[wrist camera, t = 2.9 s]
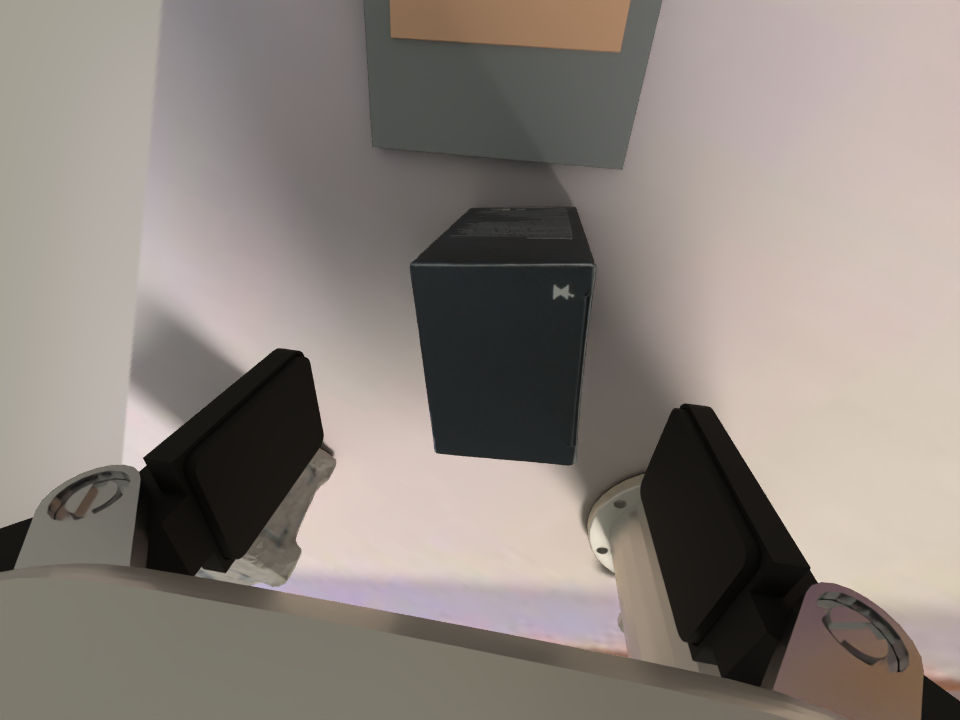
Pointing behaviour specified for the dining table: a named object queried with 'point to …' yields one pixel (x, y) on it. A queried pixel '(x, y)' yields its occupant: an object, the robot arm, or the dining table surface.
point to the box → (506, 332)
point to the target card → (508, 77)
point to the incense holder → (279, 532)
